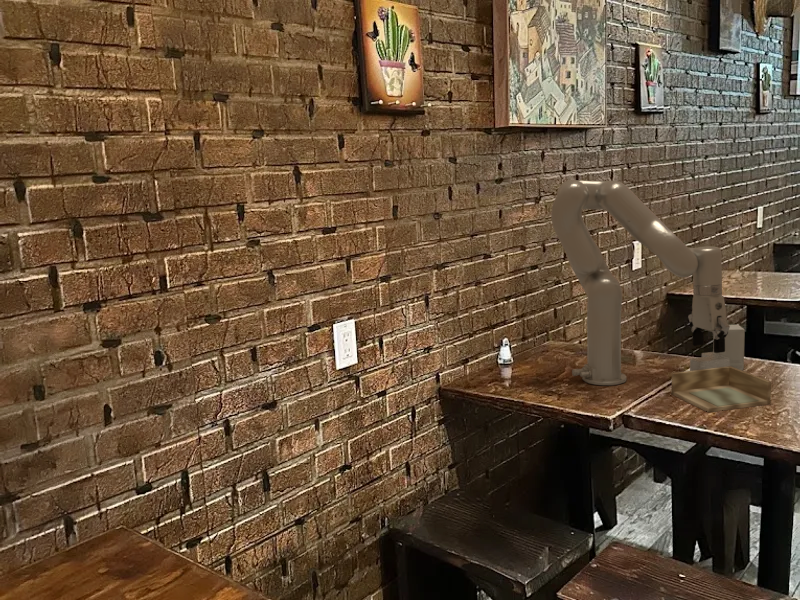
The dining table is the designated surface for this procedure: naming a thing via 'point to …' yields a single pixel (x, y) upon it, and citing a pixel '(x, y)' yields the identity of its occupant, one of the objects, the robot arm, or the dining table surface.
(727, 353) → the supplement box
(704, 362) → the bracket
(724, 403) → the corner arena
